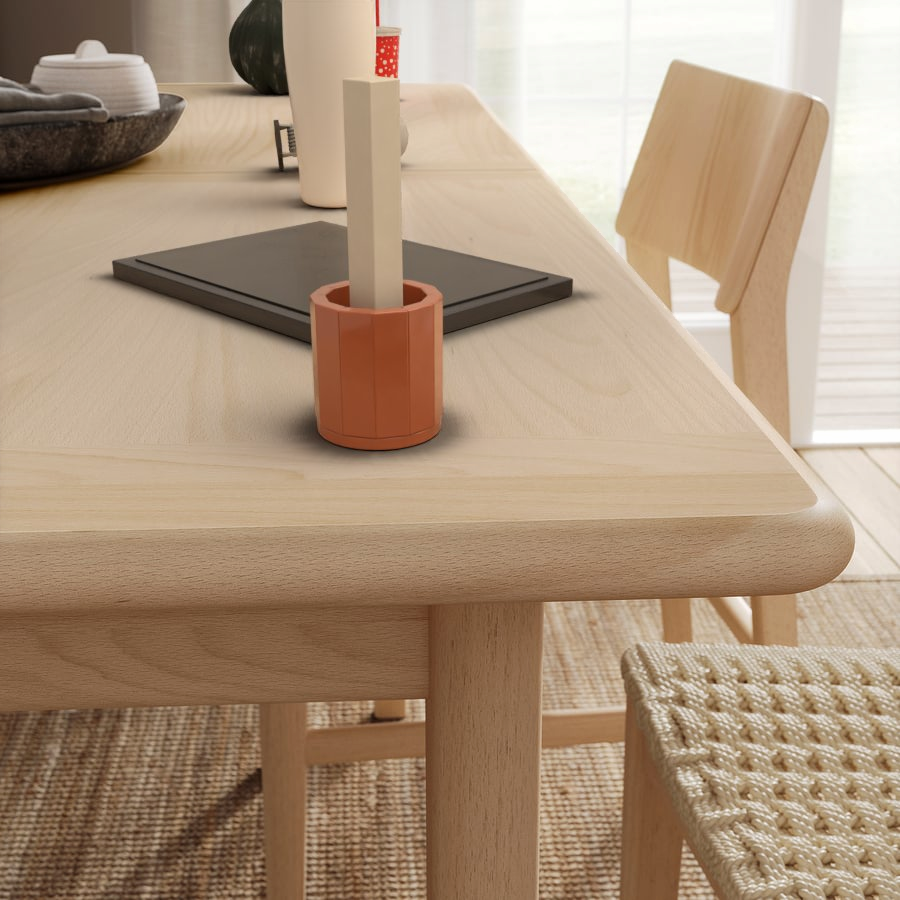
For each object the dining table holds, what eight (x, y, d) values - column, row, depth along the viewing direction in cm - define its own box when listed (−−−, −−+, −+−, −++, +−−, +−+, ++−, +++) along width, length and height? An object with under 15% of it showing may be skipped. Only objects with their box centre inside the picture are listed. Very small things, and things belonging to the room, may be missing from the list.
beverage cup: (349, 99, 156) (345, -14, 150) (392, 97, 158) (390, -15, 152) (366, 104, 150) (362, -13, 145) (409, 101, 153) (408, -14, 147)
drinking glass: (273, 202, 90) (262, -6, 85) (343, 191, 95) (336, -8, 89) (327, 215, 86) (318, -4, 80) (397, 203, 90) (394, -6, 84)
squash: (326, 44, 172) (259, -38, 163) (371, 56, 161) (301, -32, 151) (261, 114, 172) (190, 36, 162) (302, 131, 160) (228, 47, 151)
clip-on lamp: (297, 181, 115) (265, 170, 97) (290, 115, 114) (256, 91, 96) (416, 170, 115) (406, 156, 97) (409, 103, 114) (398, 77, 96)
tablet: (113, 276, 69) (111, 258, 69) (321, 234, 80) (321, 218, 79) (358, 359, 55) (357, 337, 55) (573, 295, 66) (573, 276, 65)
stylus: (352, 415, 47) (341, 78, 42) (380, 405, 48) (372, 75, 43) (377, 424, 46) (369, 81, 41) (405, 415, 47) (400, 78, 42)
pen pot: (292, 426, 47) (284, 294, 45) (383, 396, 51) (380, 271, 48) (374, 461, 44) (371, 320, 42) (466, 426, 47) (467, 294, 45)
